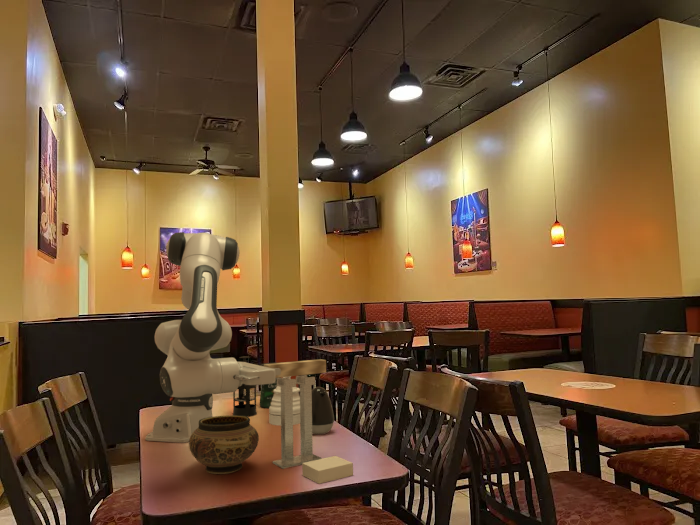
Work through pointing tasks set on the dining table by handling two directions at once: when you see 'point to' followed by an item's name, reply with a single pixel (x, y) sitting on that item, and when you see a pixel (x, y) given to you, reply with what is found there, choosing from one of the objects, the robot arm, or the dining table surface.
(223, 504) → the dining table surface
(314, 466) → the beige flat block
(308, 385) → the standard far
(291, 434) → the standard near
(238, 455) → the ceramic bowl
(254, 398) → the french press
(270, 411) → the honey pot
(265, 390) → the coffee jar
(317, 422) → the black tapered rounded piece
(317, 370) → the rail
